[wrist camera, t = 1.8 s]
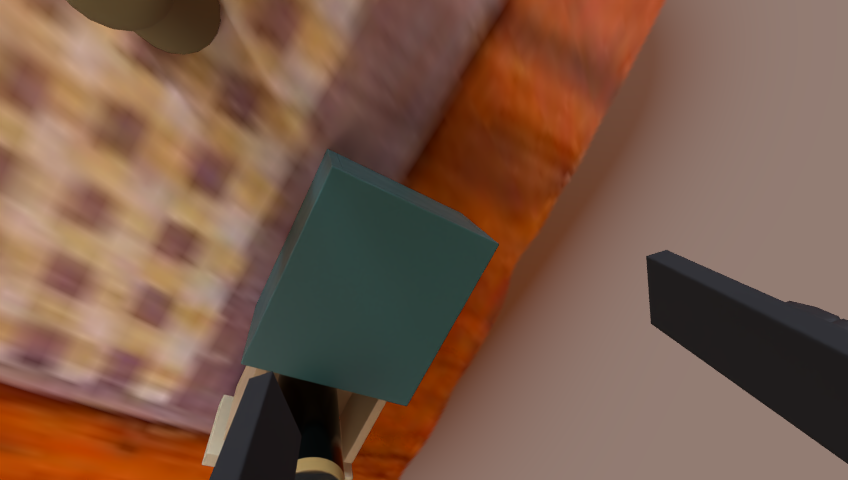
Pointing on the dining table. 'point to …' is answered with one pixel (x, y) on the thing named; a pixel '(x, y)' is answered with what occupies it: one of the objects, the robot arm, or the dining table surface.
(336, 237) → the cabinet
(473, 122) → the dining table surface
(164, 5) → the olive peanut shape
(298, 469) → the tin
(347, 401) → the drawer
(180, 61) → the dining table surface
